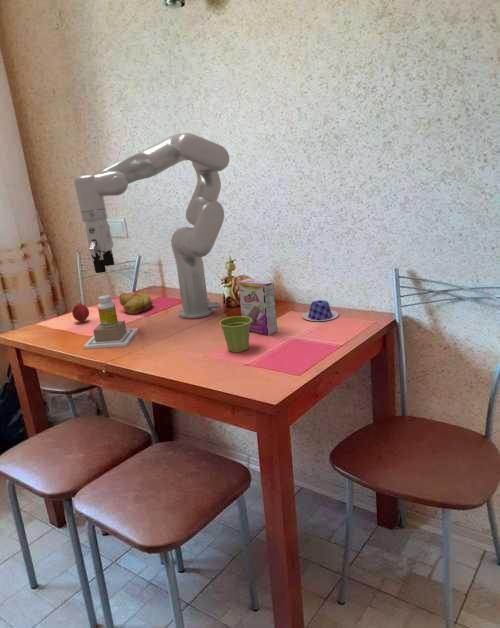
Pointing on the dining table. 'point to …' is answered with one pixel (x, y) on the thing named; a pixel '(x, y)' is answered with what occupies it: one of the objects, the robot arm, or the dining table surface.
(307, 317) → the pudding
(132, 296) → the olive yellow lumpy piece
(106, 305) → the supplement bottle
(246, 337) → the plant pot
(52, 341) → the dining table surface
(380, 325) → the dining table surface
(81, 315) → the red round fruit
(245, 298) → the candy bar box
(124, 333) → the block on square base
